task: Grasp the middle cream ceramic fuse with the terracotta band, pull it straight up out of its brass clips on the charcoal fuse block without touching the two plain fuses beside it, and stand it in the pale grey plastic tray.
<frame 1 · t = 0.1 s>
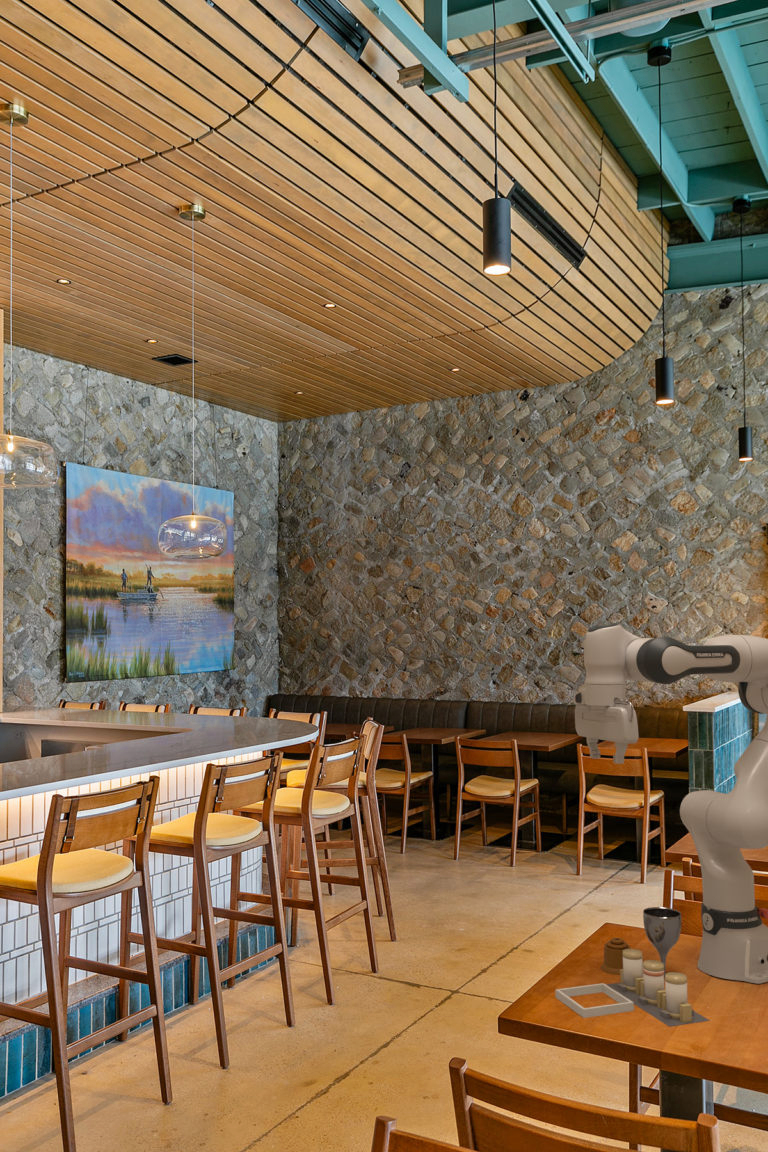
hand: (606, 760, 204), 48 cm above the table, fingers open, 8 cm apart
fuse block: (654, 1009, 188), on the table
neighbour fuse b: (677, 1015, 181), point 1 cm above the table, touching fuse block
tray: (594, 1011, 187), on the table
wine glass: (663, 983, 202), on the table
marked fuse: (654, 1001, 188), point 1 cm above the table, touching fuse block
ornamental finial: (617, 977, 207), on the table
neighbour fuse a: (633, 988, 195), point 1 cm above the table, touching fuse block
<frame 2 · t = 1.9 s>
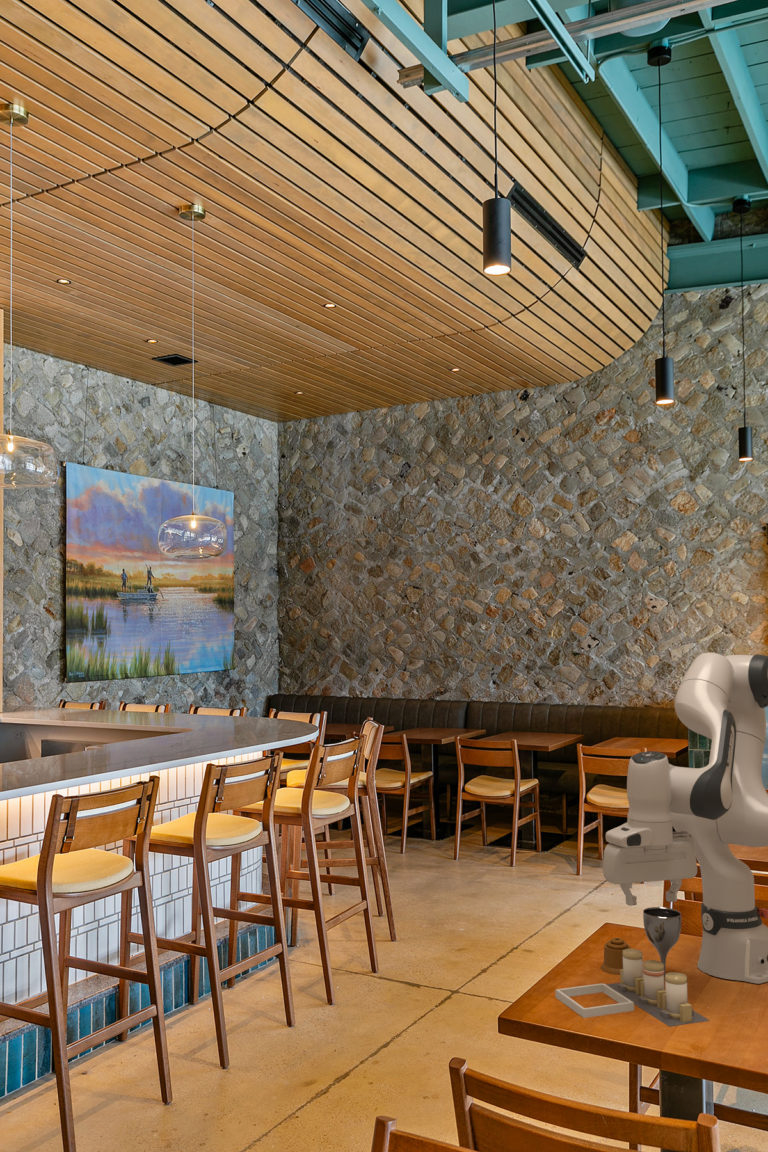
hand: (651, 903, 189), 21 cm above the table, fingers open, 8 cm apart
nothing on the table moved.
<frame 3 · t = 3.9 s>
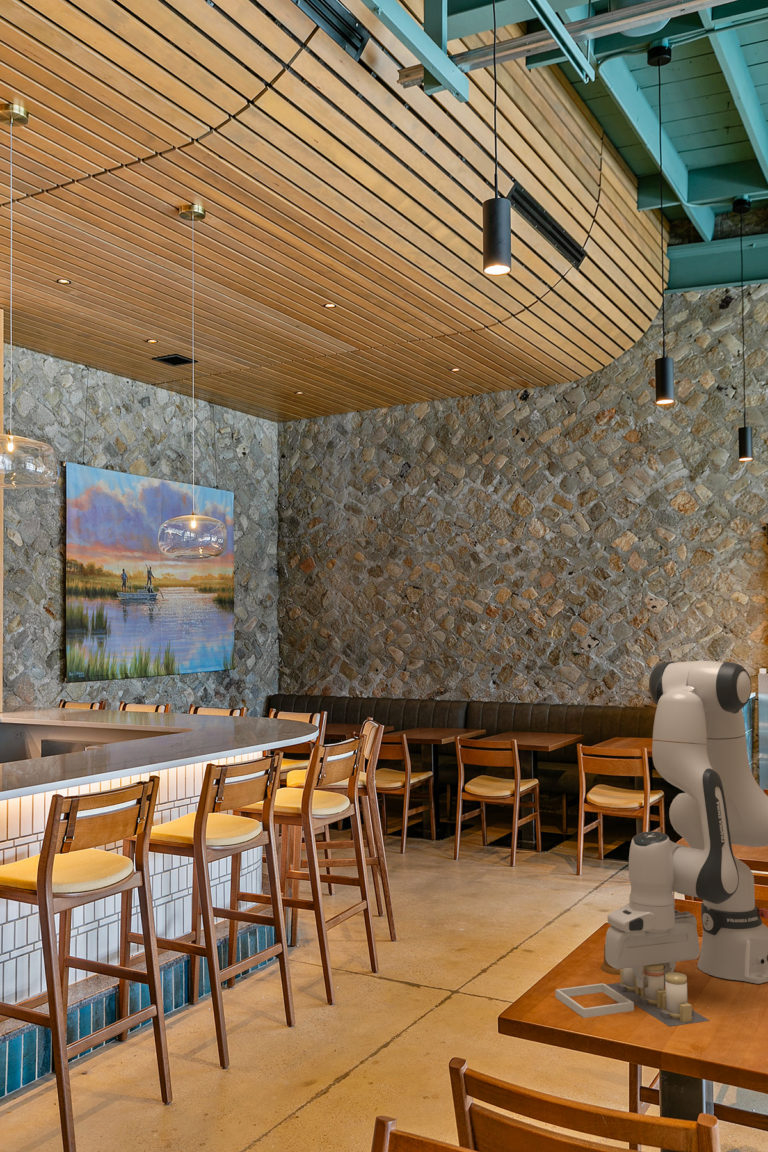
hand: (653, 985, 188), 5 cm above the table, fingers closed on marked fuse, 4 cm apart
marked fuse: (654, 1001, 188), point 1 cm above the table, touching fuse block, gripper
everything else where it was.
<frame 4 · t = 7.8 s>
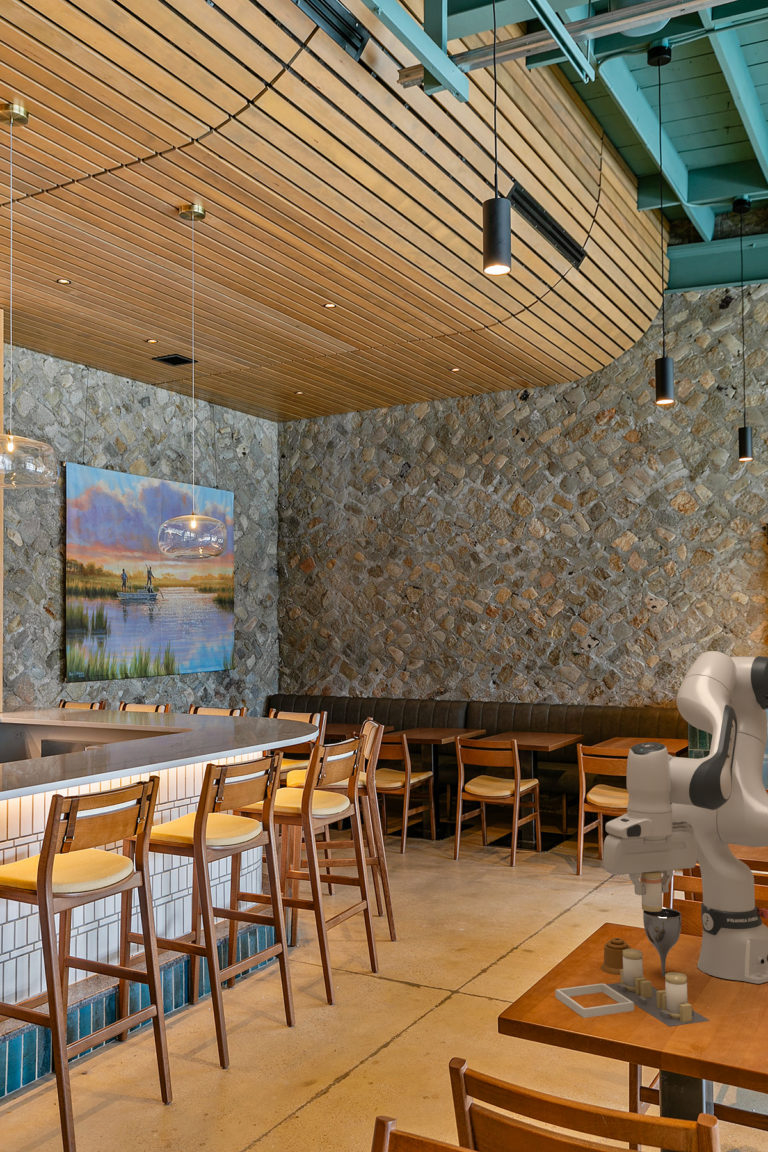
hand: (651, 893, 190), 23 cm above the table, fingers closed on marked fuse, 4 cm apart
marked fuse: (652, 909, 189), point 20 cm above the table, touching gripper
everything else where it was.
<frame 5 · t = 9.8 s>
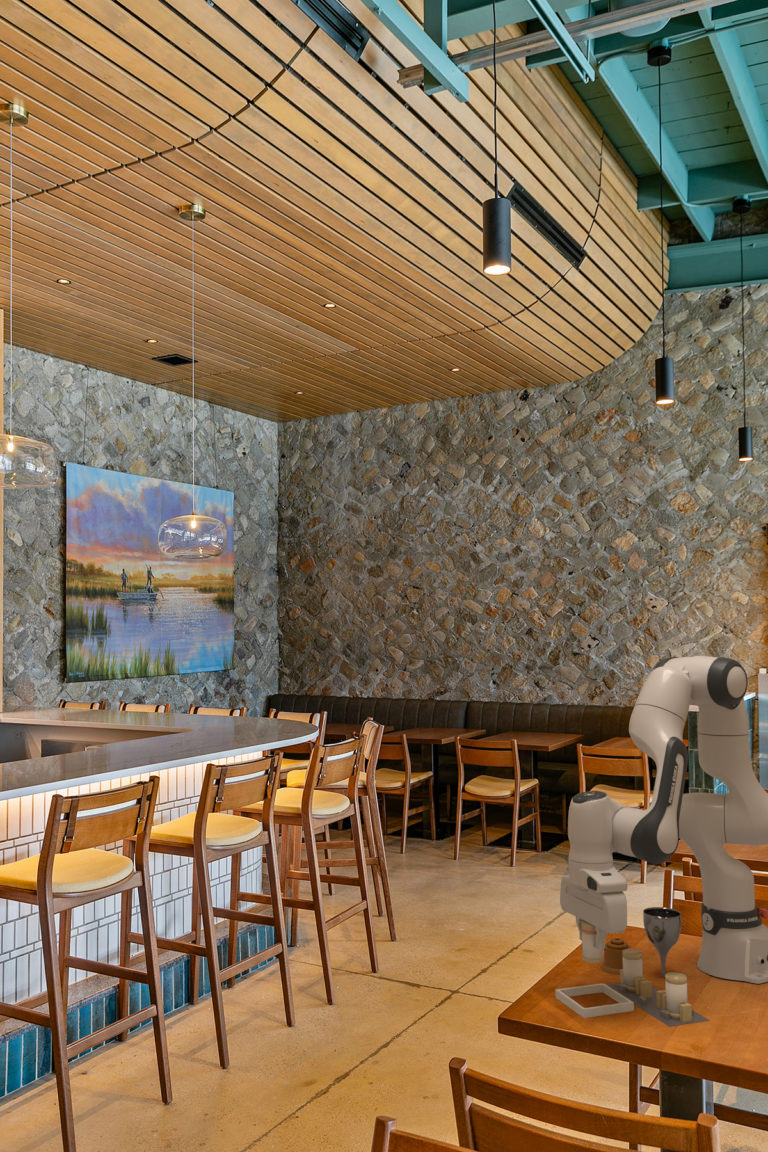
hand: (592, 944, 188), 13 cm above the table, fingers closed on marked fuse, 4 cm apart
marked fuse: (592, 960, 187), point 10 cm above the table, touching gripper
everything else where it was.
when the fingers open (5 cm above the table, at t = 11.6 s): marked fuse moves 1 cm, resting on tray.
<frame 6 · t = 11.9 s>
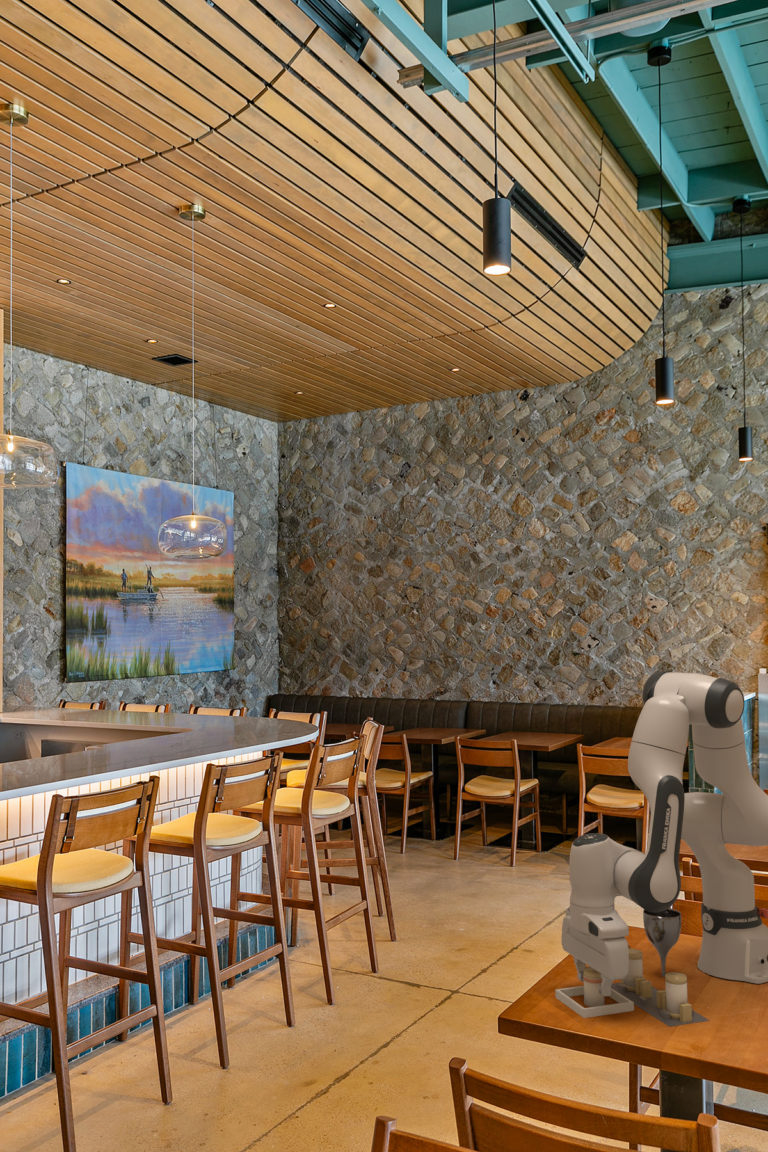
hand: (593, 987, 187), 5 cm above the table, fingers open, 7 cm apart
marked fuse: (594, 1008, 187), point 1 cm above the table, touching tray
everything else where it was.
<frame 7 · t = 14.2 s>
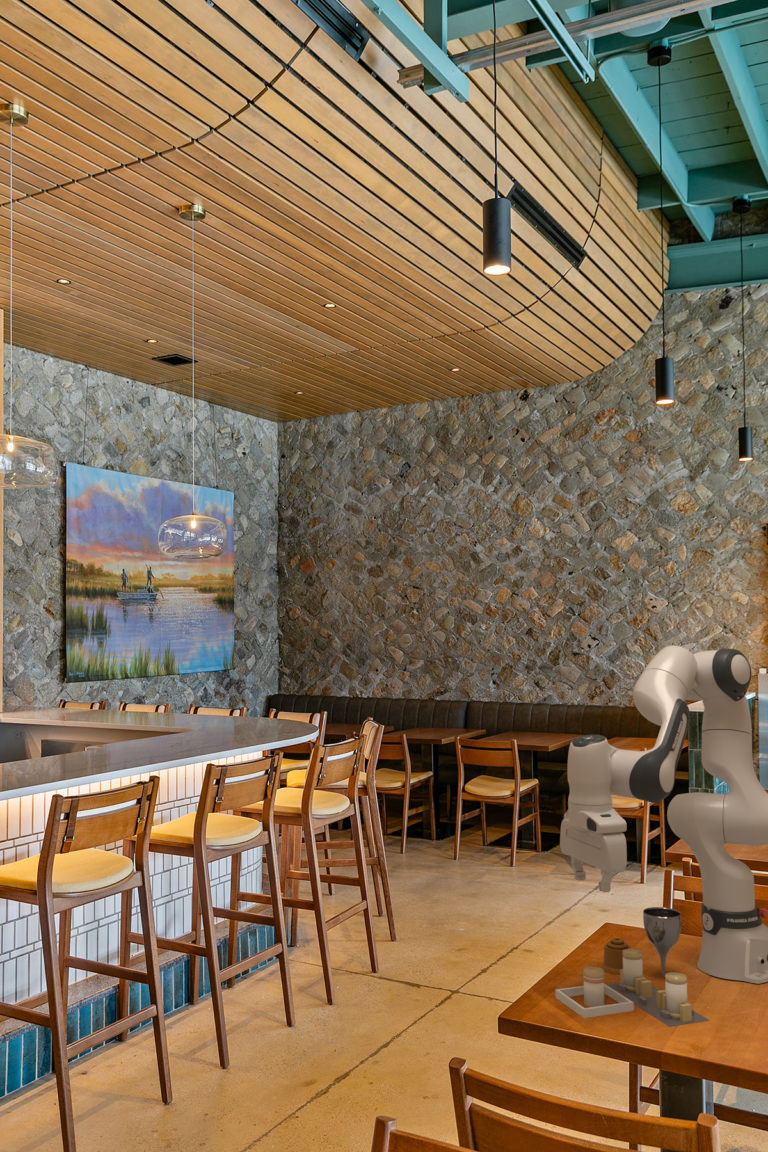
hand: (592, 885, 189), 24 cm above the table, fingers open, 8 cm apart
nothing on the table moved.
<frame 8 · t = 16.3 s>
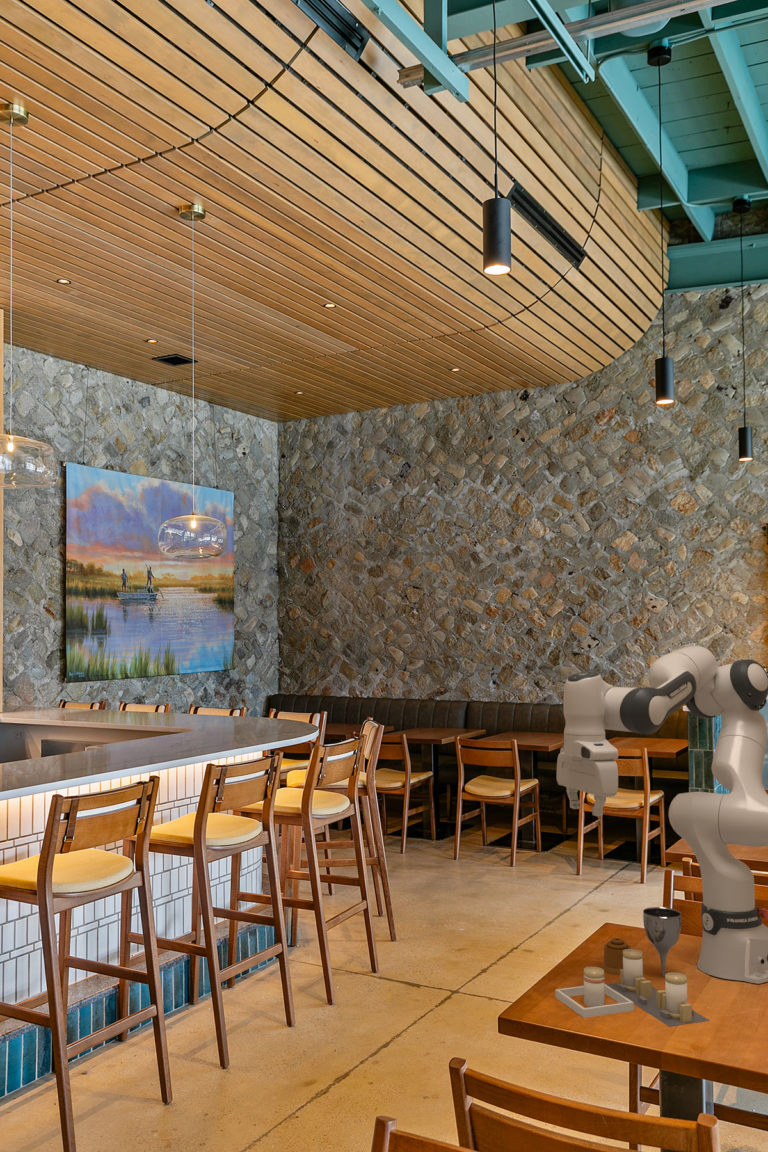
hand: (586, 812, 202), 37 cm above the table, fingers open, 8 cm apart
nothing on the table moved.
at the end: marked fuse 0.1 cm off-centre on the tray, point 0.5 cm above the tray's base; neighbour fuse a moved 0.0 cm from its start; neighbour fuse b moved 0.0 cm from its start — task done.
